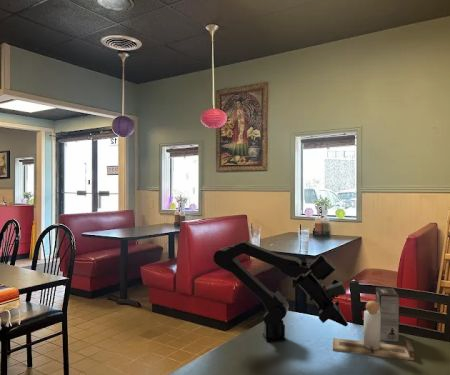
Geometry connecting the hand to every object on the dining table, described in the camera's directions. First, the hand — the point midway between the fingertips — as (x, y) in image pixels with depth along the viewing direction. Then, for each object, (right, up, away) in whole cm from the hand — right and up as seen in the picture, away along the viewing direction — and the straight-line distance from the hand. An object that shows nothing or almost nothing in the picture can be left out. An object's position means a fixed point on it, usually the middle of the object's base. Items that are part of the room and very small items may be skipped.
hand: (346, 325), depth 128 cm
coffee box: (+17, -7, +9) cm, 20 cm away
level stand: (+7, -7, -2) cm, 10 cm away
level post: (+7, -6, -2) cm, 10 cm away
